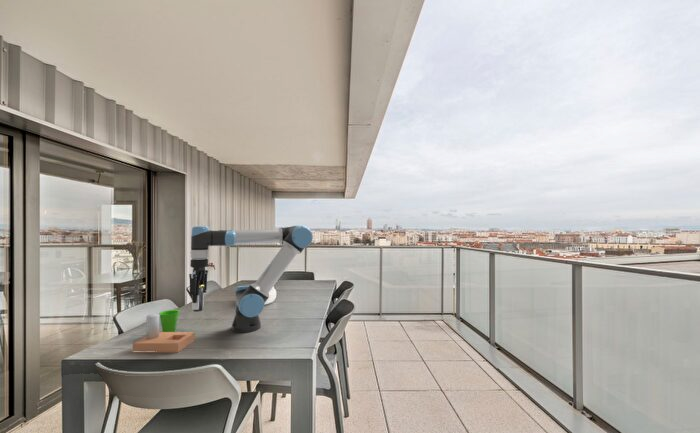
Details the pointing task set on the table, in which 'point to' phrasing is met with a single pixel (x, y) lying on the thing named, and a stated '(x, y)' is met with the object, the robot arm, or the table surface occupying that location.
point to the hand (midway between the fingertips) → (197, 307)
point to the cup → (169, 320)
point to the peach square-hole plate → (162, 338)
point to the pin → (200, 298)
